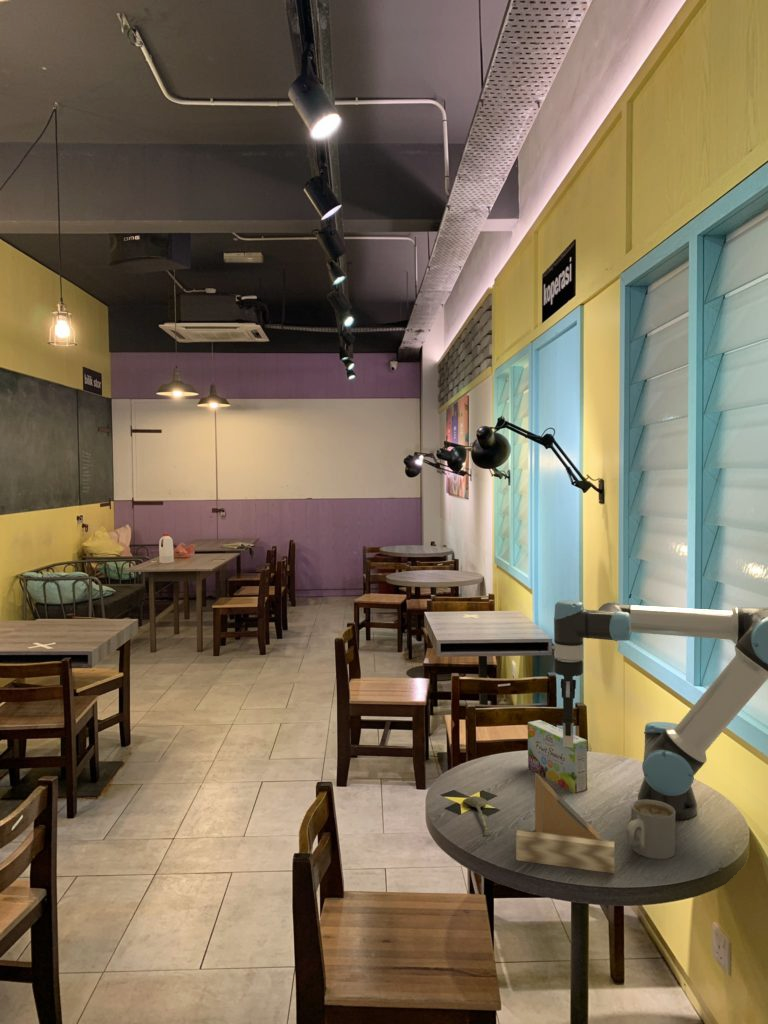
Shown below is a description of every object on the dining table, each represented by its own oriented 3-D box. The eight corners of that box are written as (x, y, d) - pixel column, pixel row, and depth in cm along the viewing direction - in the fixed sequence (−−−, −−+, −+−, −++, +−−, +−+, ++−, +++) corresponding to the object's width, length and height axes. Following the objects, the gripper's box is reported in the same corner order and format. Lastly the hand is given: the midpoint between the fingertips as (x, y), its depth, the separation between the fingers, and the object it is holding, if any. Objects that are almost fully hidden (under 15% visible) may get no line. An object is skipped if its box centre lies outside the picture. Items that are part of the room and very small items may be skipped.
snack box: (526, 769, 225) (526, 721, 224) (540, 766, 227) (540, 719, 227) (574, 794, 206) (574, 742, 206) (588, 790, 209) (589, 739, 208)
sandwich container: (605, 844, 177) (605, 784, 176) (543, 846, 176) (543, 785, 176) (593, 828, 185) (594, 771, 185) (534, 829, 185) (534, 771, 184)
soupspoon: (484, 802, 203) (461, 804, 203) (484, 790, 203) (461, 792, 203) (499, 836, 181) (473, 838, 181) (498, 823, 181) (473, 825, 181)
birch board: (614, 866, 166) (614, 841, 166) (615, 873, 163) (615, 847, 163) (516, 853, 172) (516, 829, 172) (515, 859, 169) (515, 834, 169)
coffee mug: (656, 836, 181) (657, 797, 180) (684, 855, 171) (684, 814, 171) (611, 844, 177) (611, 804, 176) (636, 864, 167) (636, 821, 167)
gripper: (555, 652, 200) (554, 736, 200) (552, 663, 187) (552, 753, 188) (583, 654, 198) (582, 739, 198) (582, 665, 185) (582, 756, 186)
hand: (568, 746), depth 193 cm, fingers closed
